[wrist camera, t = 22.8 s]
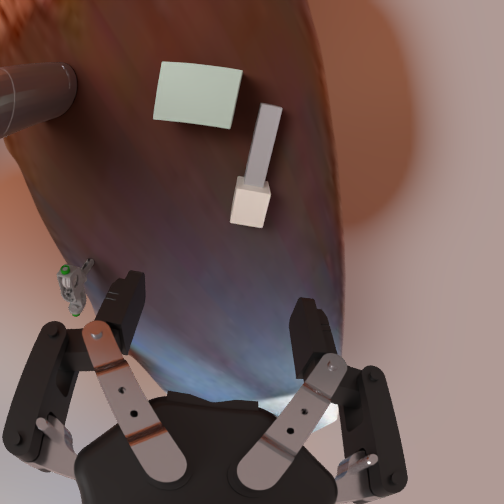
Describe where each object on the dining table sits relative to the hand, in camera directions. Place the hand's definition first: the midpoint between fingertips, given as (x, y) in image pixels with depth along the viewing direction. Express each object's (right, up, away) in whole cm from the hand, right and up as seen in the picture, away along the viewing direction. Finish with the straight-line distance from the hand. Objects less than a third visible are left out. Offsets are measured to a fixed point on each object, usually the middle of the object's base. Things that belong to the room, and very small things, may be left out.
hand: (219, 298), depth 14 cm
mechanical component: (-28, +1, +33) cm, 43 cm away
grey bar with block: (+2, +15, +24) cm, 28 cm away
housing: (-5, +23, +18) cm, 30 cm away
